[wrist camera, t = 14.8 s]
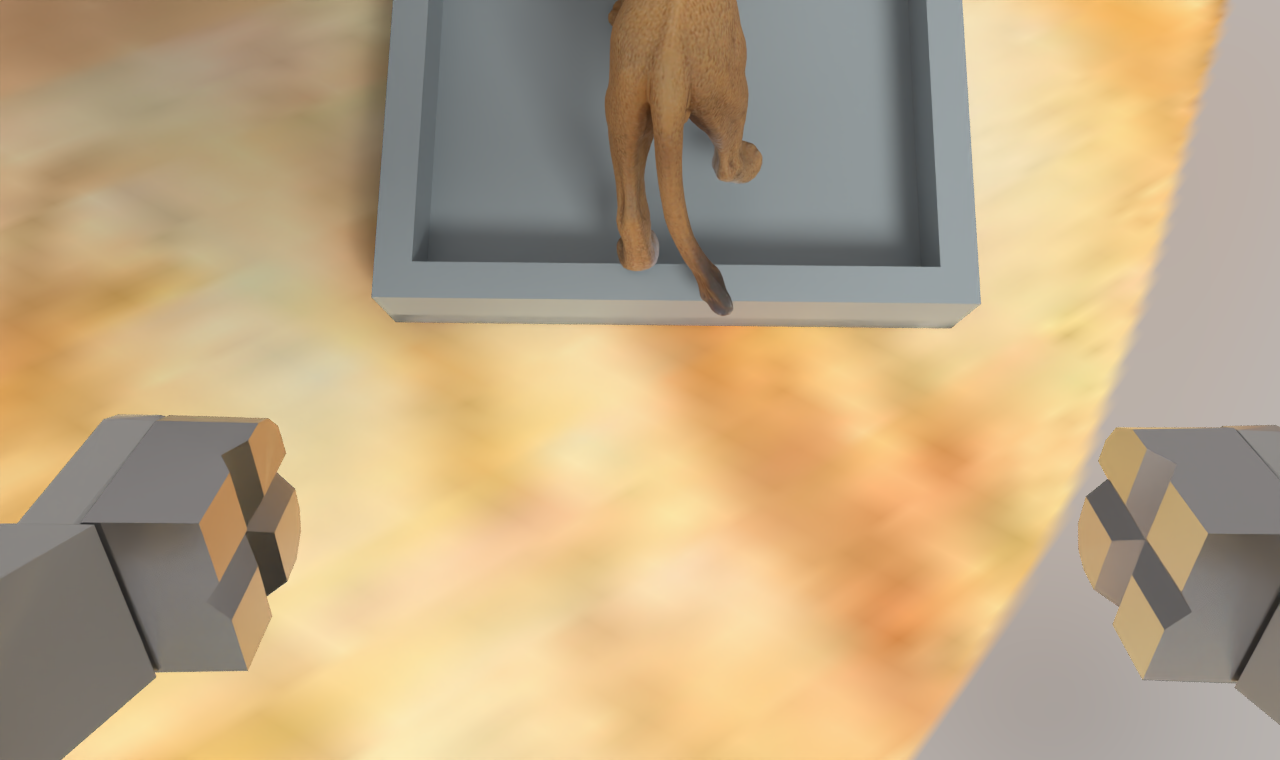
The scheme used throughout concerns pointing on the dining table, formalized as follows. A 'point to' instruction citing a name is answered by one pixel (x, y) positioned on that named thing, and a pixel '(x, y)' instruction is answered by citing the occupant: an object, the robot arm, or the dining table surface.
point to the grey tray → (718, 211)
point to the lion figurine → (675, 120)
